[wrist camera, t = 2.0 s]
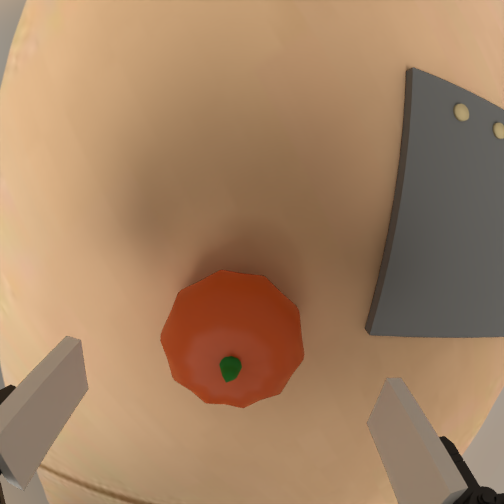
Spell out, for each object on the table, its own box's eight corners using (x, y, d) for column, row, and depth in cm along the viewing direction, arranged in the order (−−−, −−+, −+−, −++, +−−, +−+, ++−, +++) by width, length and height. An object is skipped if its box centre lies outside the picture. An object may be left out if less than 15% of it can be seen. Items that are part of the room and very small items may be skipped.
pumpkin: (179, 250, 20) (142, 291, 12) (307, 268, 20) (336, 318, 13) (172, 354, 21) (144, 424, 14) (284, 369, 22) (297, 444, 14)
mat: (507, 332, 21) (516, 338, 20) (364, 328, 21) (371, 337, 19) (544, 140, 17) (554, 140, 16) (406, 71, 17) (415, 65, 15)
